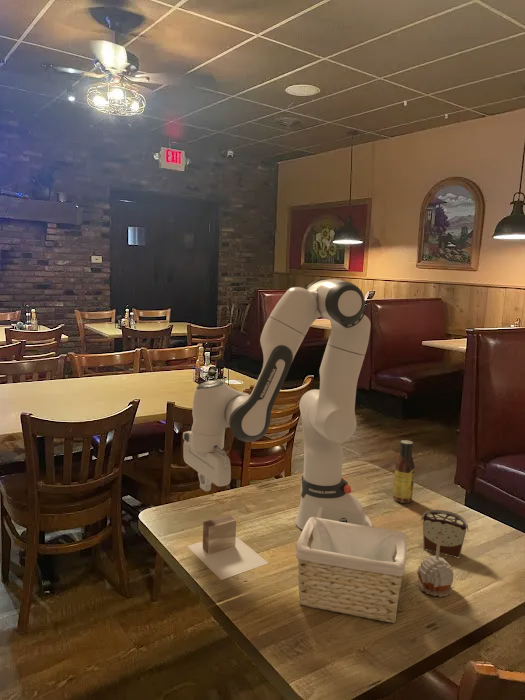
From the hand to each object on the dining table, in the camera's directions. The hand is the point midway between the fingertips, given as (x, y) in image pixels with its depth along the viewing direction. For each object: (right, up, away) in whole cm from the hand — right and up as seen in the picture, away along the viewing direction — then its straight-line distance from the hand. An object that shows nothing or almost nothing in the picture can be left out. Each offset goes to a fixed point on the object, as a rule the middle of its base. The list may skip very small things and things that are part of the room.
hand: (205, 489), depth 149 cm
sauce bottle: (+62, -12, +31) cm, 70 cm away
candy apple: (+57, -20, -17) cm, 63 cm away
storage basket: (+36, -20, -21) cm, 46 cm away
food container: (+65, -17, +2) cm, 67 cm away
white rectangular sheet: (+6, -16, -7) cm, 18 cm away
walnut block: (+4, -15, -3) cm, 15 cm away
